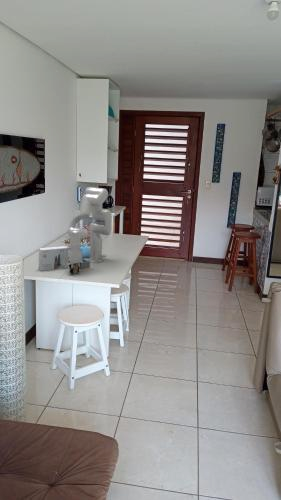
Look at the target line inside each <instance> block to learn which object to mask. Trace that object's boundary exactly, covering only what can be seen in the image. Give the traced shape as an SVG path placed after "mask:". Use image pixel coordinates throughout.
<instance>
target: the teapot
mask: <svg viewBox="0 0 281 500" xmlns="http://www.w3.org/2000/svg"><path fill="white" fill-rule="evenodd" d="M81 246H82V247H80V249H81V252H82V259H88V258H90V247H89V246H88V242H86V243H83V244H82V243H81Z"/></svg>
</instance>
